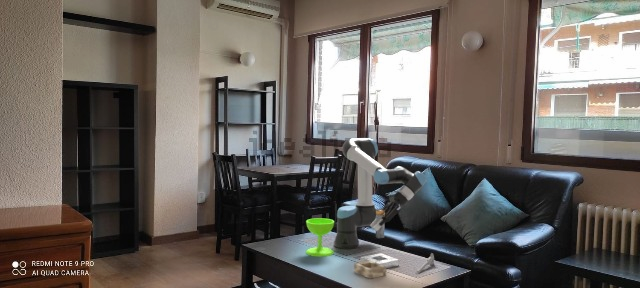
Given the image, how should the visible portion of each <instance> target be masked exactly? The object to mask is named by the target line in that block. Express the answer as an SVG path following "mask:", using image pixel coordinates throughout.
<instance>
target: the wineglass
mask: <svg viewBox="0 0 640 288" xmlns="http://www.w3.org/2000/svg"><path fill="white" fill-rule="evenodd" d="M305 223H306V227H307V229H308V230H309V232H310V233H311V234H313V235H316V236H317V239H318V240H317V242H318V243H317V247H311V248H308V249H307V250H306V251H305V254H306V255H308V256H310V255H311V256H312V257H320V258H321V257H329V256H330V257H331V256H332V254H333V253H334V250H332V249H331V248H328V247H322V243H323V242H322V240H323V239H322V237H323V236H325V235H327V234H329V233H330V232H331V231H332V230H333V228H334V226H335V220H333V219H330V218H321V217H319V218H317V217H316V218H315V217H314V218H310V219H307V220H306V221H305ZM334 254H335V253H334ZM334 254H333V255H334Z"/></svg>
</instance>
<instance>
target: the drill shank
mask: <svg viewBox="0 0 640 288" xmlns="http://www.w3.org/2000/svg"><path fill="white" fill-rule="evenodd" d="M384 216H385V210H382V209H378V210H376V224H377V223H378V222H379V221H380V220H381V218H382V217H384ZM375 238H376V239H383V238H385V223H384V224H383V225H382V226H381V228H380V229H379V230H378V231H376V230H375Z"/></svg>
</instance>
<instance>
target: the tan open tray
mask: <svg viewBox="0 0 640 288" xmlns="http://www.w3.org/2000/svg"><path fill="white" fill-rule="evenodd" d="M353 269H354V270H353V271H354V272H353V273H357V274H358V275H361V276H363V277H366V278H367V279H374V278H379V277H383V276H387V268H386V267H385V266H382V265H380V264H377V263H375V262H372V261H366V262H361V261H360V262H356V263H354V268H353Z"/></svg>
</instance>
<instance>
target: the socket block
mask: <svg viewBox="0 0 640 288" xmlns="http://www.w3.org/2000/svg"><path fill="white" fill-rule="evenodd" d="M366 261H372V262H375V263H377V264H380V265H382V266H385V267H386V269H389V268H393V267H397V266H399V265H400V263H399V261H400V259H398V258H395V257H392V256H389V255H386V254H384V253H382V252H380V253H375V254H371V255H370V254H369V255H365V256H360V263H361V262H366Z"/></svg>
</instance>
